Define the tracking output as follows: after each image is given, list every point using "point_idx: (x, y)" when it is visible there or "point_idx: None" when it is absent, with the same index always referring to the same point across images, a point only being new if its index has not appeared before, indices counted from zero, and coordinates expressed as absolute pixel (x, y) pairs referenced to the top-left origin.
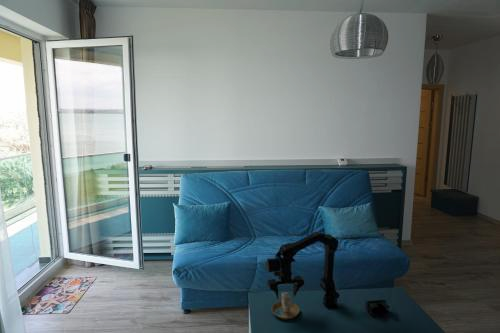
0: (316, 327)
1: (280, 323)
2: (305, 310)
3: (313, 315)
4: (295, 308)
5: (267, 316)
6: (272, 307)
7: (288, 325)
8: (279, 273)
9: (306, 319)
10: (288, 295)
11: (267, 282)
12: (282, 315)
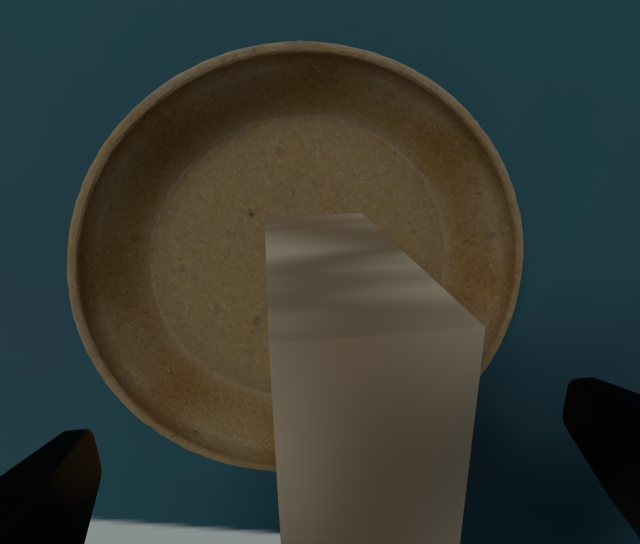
0: (514, 540)
1: (177, 453)
2: (575, 270)
3: (600, 377)
4: (472, 238)
5: (18, 300)
6: (97, 188)
7: (260, 492)
8: None
9: (492, 428)
10: (436, 522)
11: None
12: (244, 318)
